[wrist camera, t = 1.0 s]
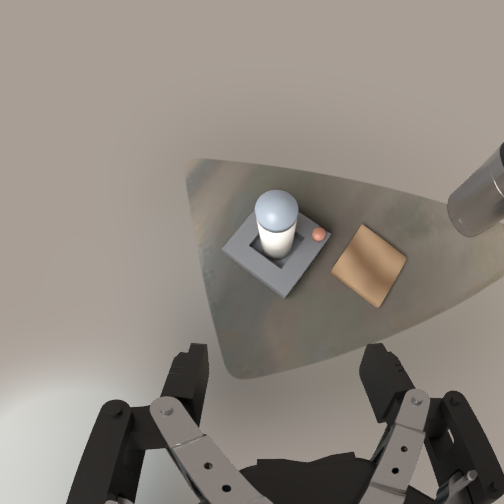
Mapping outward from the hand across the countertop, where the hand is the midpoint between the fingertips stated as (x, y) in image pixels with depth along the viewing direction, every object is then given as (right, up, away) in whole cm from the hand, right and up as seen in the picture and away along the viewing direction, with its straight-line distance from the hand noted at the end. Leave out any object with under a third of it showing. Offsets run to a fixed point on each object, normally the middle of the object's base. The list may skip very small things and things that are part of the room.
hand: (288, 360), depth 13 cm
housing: (+2, +6, +28) cm, 29 cm away
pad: (+16, +3, +26) cm, 31 cm away
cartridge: (+2, +6, +28) cm, 28 cm away
